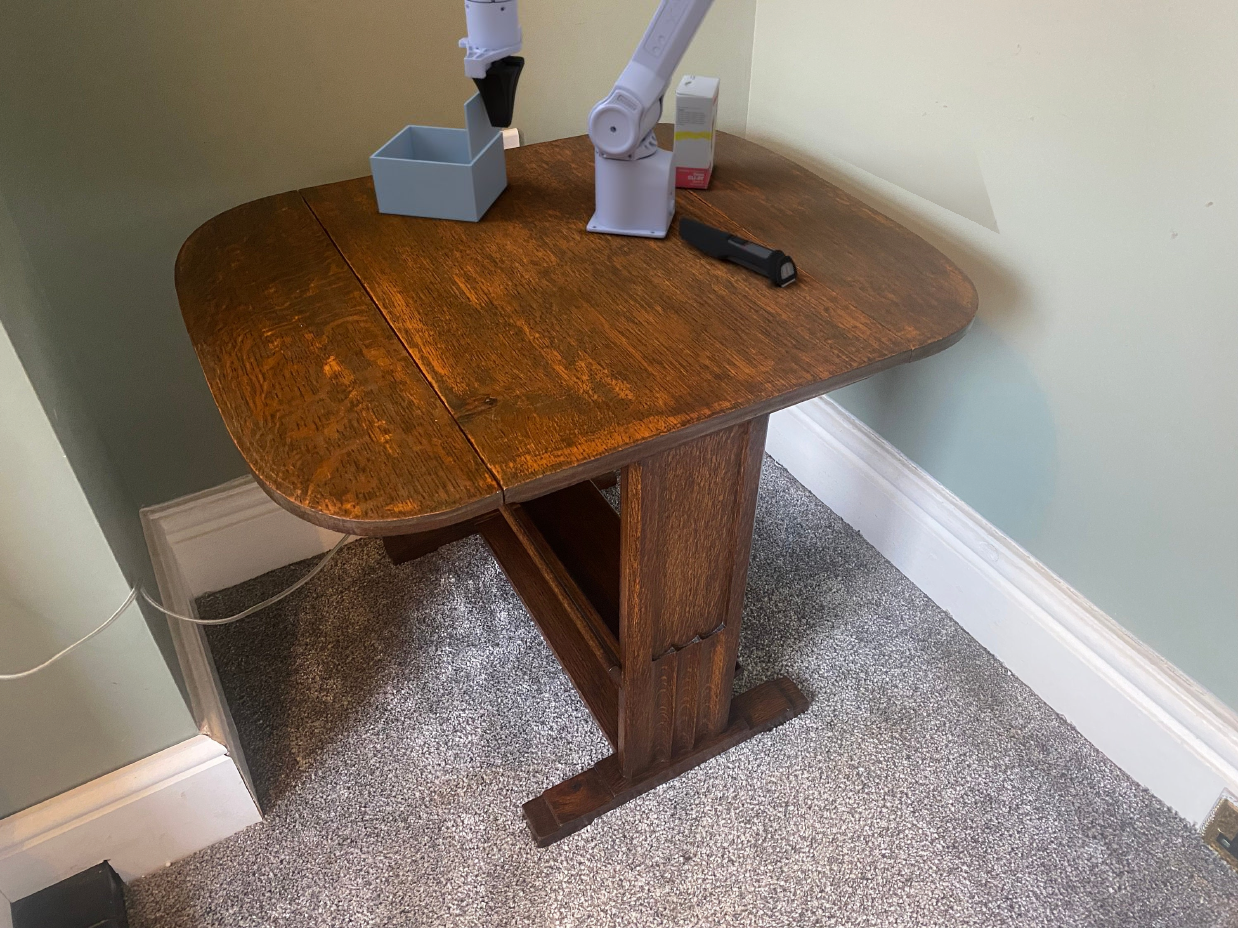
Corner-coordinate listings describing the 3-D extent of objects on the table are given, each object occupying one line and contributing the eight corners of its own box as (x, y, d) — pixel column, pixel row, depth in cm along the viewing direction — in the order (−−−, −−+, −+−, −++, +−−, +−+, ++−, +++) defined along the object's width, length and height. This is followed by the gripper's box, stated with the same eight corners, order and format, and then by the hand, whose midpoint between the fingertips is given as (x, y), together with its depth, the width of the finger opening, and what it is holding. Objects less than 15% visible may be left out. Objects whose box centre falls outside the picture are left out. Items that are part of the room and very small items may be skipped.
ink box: (707, 190, 111) (714, 96, 103) (670, 187, 112) (674, 93, 104) (714, 166, 117) (721, 76, 110) (679, 164, 118) (683, 74, 110)
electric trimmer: (692, 236, 101) (693, 210, 99) (799, 278, 92) (803, 251, 90) (670, 246, 99) (671, 220, 97) (778, 290, 90) (781, 262, 88)
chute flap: (501, 127, 107) (503, 127, 107) (469, 160, 99) (472, 160, 98) (496, 74, 103) (499, 75, 103) (463, 104, 95) (466, 104, 94)
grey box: (507, 185, 112) (502, 132, 108) (477, 222, 103) (471, 166, 99) (416, 177, 114) (408, 125, 110) (379, 212, 105) (369, 157, 101)
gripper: (477, -18, 98) (488, 104, 107) (430, 10, 87) (447, 144, 96) (536, -15, 97) (542, 108, 106) (496, 14, 86) (507, 149, 95)
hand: (501, 125), depth 101 cm, fingers closed
